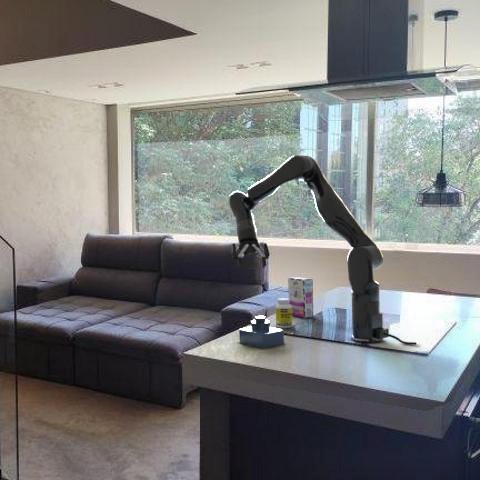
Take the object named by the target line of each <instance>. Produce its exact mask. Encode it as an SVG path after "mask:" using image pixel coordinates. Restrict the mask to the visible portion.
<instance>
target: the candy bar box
mask: <svg viewBox="0 0 480 480" xmlns="http://www.w3.org/2000/svg"><path fill="white" fill-rule="evenodd" d="M313 280H314V279H313V278H309V277H299V276H291V277H288V278H287V282H288V283H287V285H288V286H287V287H288V299H290V303H289V304H290V305H291V306H292V317H297V318H301V319H310V318H311V319H312V318H314V285H313V284H314V281H313Z"/></svg>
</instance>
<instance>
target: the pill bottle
mask: <svg viewBox="0 0 480 480" xmlns="http://www.w3.org/2000/svg"><path fill="white" fill-rule="evenodd" d="M289 303H290V299H289V297H288V298H287V297H285V298H284V297H281V298H277V304H276V305H275V326H276V327H277V328H278V329H289V328H292V327H293V316H292V306H291V305H290V304H289Z"/></svg>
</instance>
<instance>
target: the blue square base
mask: <svg viewBox="0 0 480 480" xmlns="http://www.w3.org/2000/svg"><path fill="white" fill-rule="evenodd" d="M238 333H239V335H238V336H239V344H242V345H247V346H249V347H250V346H251V347H254V348H258V349H260V350H261V349H262V350H264V349H268V348H269V349H270V348H273V347H277V346H281V345H285V334H284V333H285V332H284V329H282V328H276V327H271V321H270V320H268V319H265V322H264V323H256V322H255V319H253V320H250V326H247V327H243V328H239V329H238Z"/></svg>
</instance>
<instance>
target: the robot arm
mask: <svg viewBox="0 0 480 480" xmlns="http://www.w3.org/2000/svg"><path fill="white" fill-rule="evenodd" d="M294 180H297V181H303V182H304V183H305V185H306V186H307V187H308V188H309V190H310V191H311V193H312V195H313V199H314V204H315V208H316V210H317V212H318V215H319V216H320V217H321V218H322V220H323V222H324V224H326V226H328V228H330V229H331V230H332V231H333V232H335V233H336V234H337V235H338V236H340V237H341V238H343V239H344V240H345V241H346V242H347V244H349V246H350V247H351V249H350V250H349V251H348V254H347V273H348V274H347V275H348V282H349V285H350V287H351V323H352V324H351V325H352V327H351V328H352V329H351V330H352V335H351V337H352V338H351V339H352V340H353V341H355V342H358V343H359V342H360V343H370V344H373V343H376V342H381V341H384V339H386V338H391V339H394V340H397V341H398V342H399V343H401V344H404V345H410V346H411V345H413V346H416V345H417V342H415V341H405V340H402V339H400V337H397V336H395V335H393V334H390V333H389V332H390V331H389V330H390V329H389V328H388V327H384V324H383V323H384V321H383V316H384V315H383V313H382V312H381V305H380V304H381V303H380V284H379V282H378V281H376V280H375V279H374V271H375V270H378V269H380V267H382V265H383V263H384V255H383V253H382V251H381V249H380V247H379V246H378V245H377V244H376V243H375V242H374V241H373V240H372V238H370V236H369V235H368V234H367V233H366V232H365V231H364V230H363V228H362V227H361V225H360V224H359V222H358V221H357V220H356V218H355V217H354V215H353V214H352V213H351V211H350V210H349V209H348V207H347V205H346V204H345V202H343V200H342V199H341V198H340V196H339V195H338V194H337V192H336V191H335V190H334V188H333V187H332V186H331V184H330V183H329V182H328V179H327V178H326V177H325V174H324V173H323V171H322V169H321V167H320V166H319V164H318V162H317V161H316V160H315V159H314V158H313V157H312V156H310V155H302V154H297V155H296V154H295V155H293V156H291V157H289V158H288V159H287V160H285V162H283V163H282V164H281V165H280V166H279V167H278V168H277V169H275V170H274V171H273V172H272V173H270V174H268V175H267V176H266V177H265V178H263V179H261V180H260V181H257V182H255V183H254V184H253V185H251V186H250V187H248V189H247V194H245V193H244V192H242V191H239V190H236V191H233V192H232V193H230V195H229V199H228V204H229V208H230V210H231V212H232V214H233V216H234V218H235V224H236V235H237V239H238V244H236V243H232V245H231V259H232V260H236V261H237V266H238V267H239V268H240V269H243V267H244V263H243V257H244V256H247V257H248V256H252V257H253V256H255V257H256V258H259V259H260V263H261V268H262V269H265V267H266V266H267V260H269V259H270V255H271V254H270V250H269V247H268V243H267V242H265V243H263V244H260V243H259V238H258V233H257V228H256V227H257V226H256V225H255V220H254V215H253V213H252V211H253V210H254V208H255V207H256V206H257V205H258V204H259V203H260V202H261V201H263V200H265V199H266V198H269V197H270V196H271V195H273V194H274V193H276V191H277V190H278V189H279V188H280V186H282V185H284V184H286V183H289V182H292V181H294ZM237 250H239V251H240V252H239V254H237Z"/></svg>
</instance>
